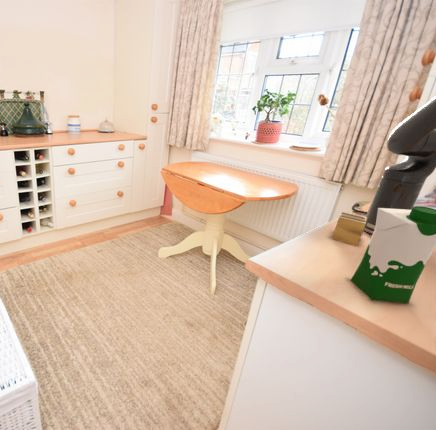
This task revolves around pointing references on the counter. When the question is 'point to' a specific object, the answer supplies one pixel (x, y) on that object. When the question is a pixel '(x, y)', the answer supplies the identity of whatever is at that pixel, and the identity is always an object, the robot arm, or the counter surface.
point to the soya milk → (397, 253)
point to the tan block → (349, 228)
